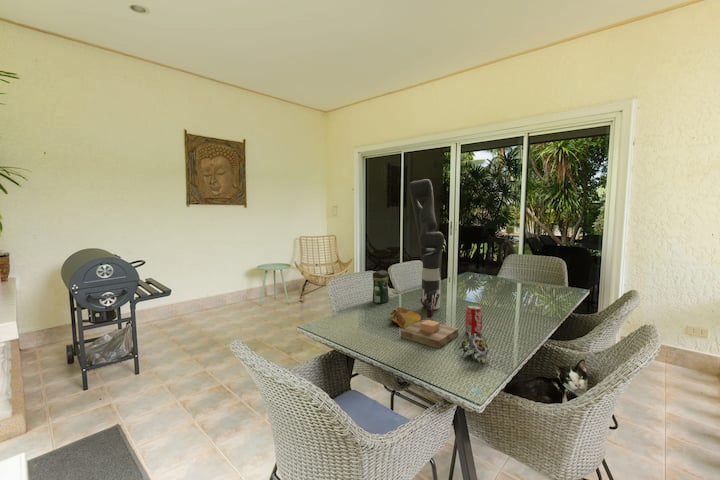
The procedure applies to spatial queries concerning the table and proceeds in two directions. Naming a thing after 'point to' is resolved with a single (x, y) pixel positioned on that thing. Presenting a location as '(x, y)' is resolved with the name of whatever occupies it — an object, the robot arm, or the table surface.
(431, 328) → the push button
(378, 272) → the coffee jar
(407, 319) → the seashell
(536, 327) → the table surface
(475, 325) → the soda can
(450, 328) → the button plate
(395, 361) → the table surface
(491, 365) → the table surface
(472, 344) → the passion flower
